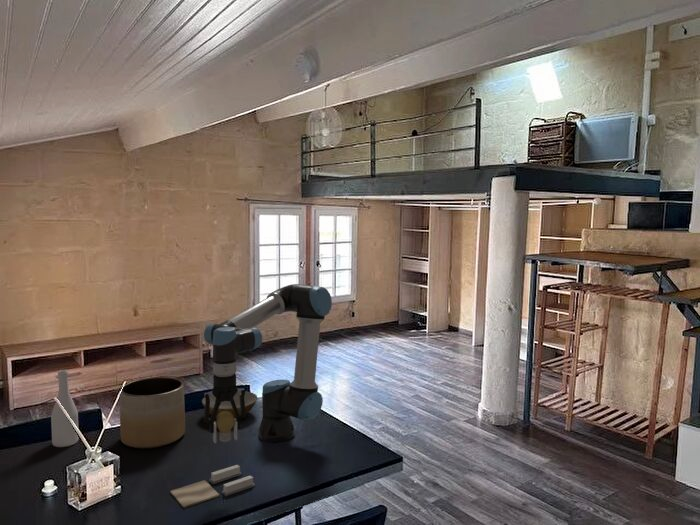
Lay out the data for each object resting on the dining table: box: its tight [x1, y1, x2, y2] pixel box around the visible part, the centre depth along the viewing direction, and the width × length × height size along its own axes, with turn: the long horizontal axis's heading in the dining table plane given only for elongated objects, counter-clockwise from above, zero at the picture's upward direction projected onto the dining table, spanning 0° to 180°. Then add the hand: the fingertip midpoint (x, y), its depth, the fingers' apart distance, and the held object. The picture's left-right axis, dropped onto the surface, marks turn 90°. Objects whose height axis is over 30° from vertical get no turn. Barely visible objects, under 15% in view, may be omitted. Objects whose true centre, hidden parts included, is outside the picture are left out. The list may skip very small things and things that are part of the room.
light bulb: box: [215, 411, 235, 443], centre depth 179 cm, size 6×6×10 cm
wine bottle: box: [50, 369, 80, 448], centre depth 212 cm, size 10×10×30 cm
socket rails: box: [209, 464, 256, 497], centre depth 182 cm, size 13×11×3 cm
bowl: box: [201, 390, 258, 419], centre depth 244 cm, size 25×25×8 cm
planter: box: [119, 376, 186, 450], centre depth 218 cm, size 25×25×22 cm
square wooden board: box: [169, 479, 220, 509], centre depth 175 cm, size 12×12×1 cm
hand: (225, 439), depth 179 cm, fingers closed on light bulb, 6 cm apart
